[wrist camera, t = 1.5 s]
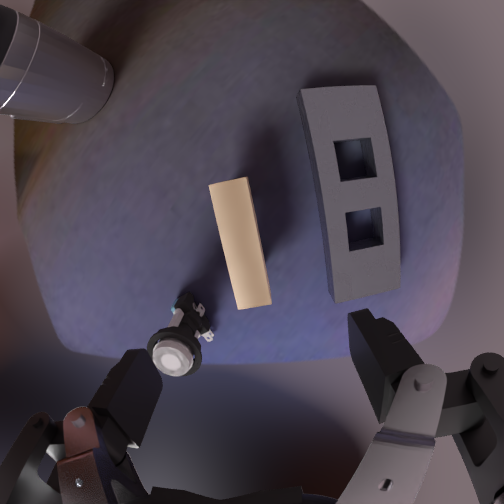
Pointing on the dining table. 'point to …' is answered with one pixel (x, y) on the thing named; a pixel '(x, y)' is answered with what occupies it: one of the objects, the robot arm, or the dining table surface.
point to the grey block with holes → (353, 189)
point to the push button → (181, 339)
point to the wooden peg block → (241, 242)
